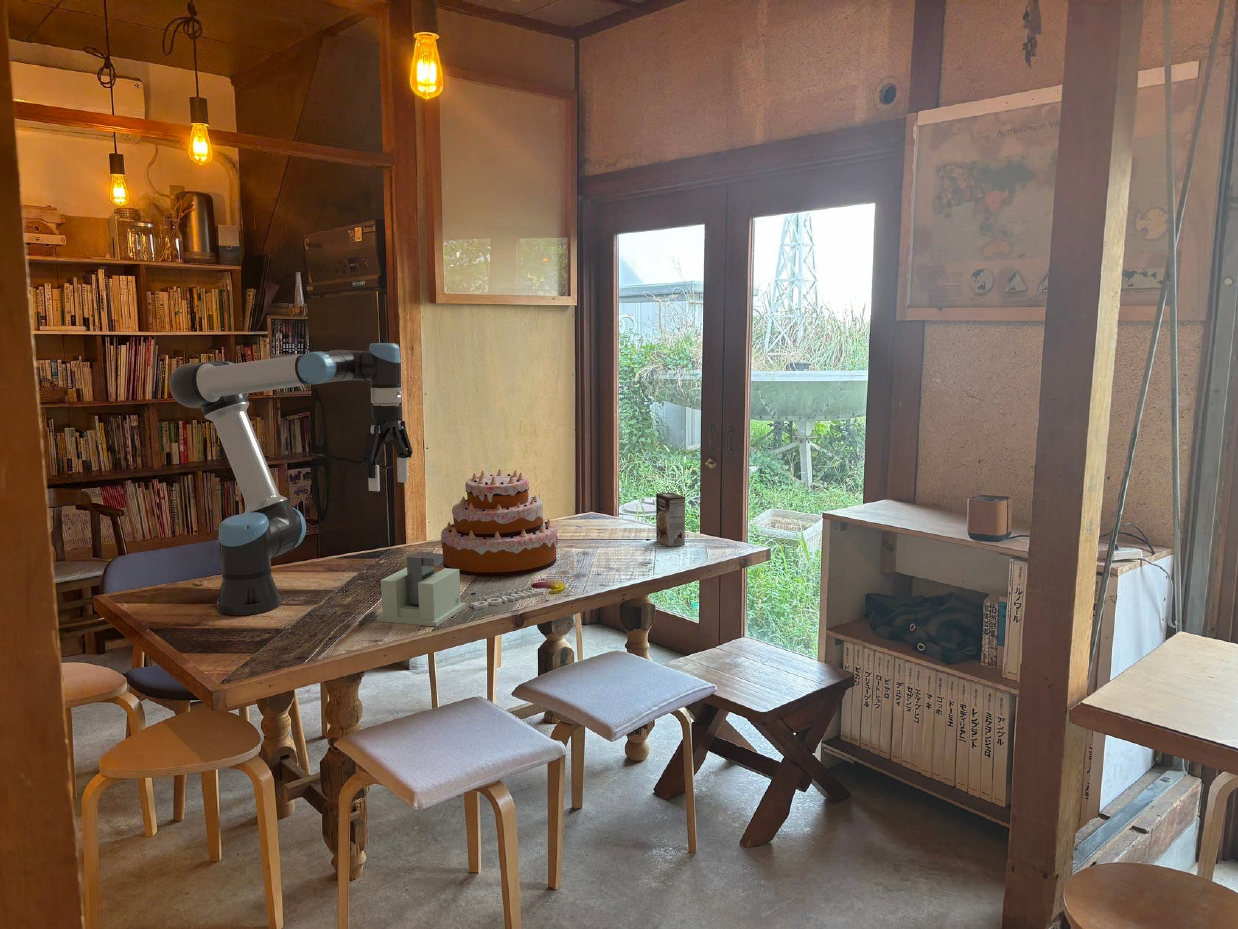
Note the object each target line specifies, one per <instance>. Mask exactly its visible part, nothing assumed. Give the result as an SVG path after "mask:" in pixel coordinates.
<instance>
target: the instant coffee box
mask: <svg viewBox="0 0 1238 929" xmlns="http://www.w3.org/2000/svg"><path fill="white" fill-rule="evenodd" d="M655 512H656V513H655V516H656V518H655V521H656V524H655V526H656V527H655V531H656V532H655V533H656V535H655V536H656V537H655V538H656V540H655V541H656V542H658V543H660V544H662V545H664V546H667V547H675V546H676V547H677V546H685V540H686V538H685V537H686V536H685V534H686V532H685V531H686V529H685V528H686V496H683V495H681V494H679V493H675V492H673V491H672V492H660V493H659V492H658V493H656V494H655Z"/></svg>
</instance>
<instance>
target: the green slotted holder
mask: <svg viewBox="0 0 1238 929" xmlns="http://www.w3.org/2000/svg"><path fill="white" fill-rule="evenodd" d="M460 575H461V574H459V569H448V568H445V567H444V568H443V569H441V570H439V571H437V572H434V575H432V576H430V577H428V578H426V579H424V580H423V581H421V582H419V583H418V595H419V607H411V606H409V602H408V579H407V566H406V567H403V568H402V569H400V570H398V571H396V572H394V573H392V574H390V575H388V576H386V577H384V578H382V579H381V580H380V593H381V611H382V612H381V614H380V615H378V616H376V622H384V623H394V624H396V623H397V624H407V625H418V626H430V627H438V626H440V625H441V624H442V623H444V622H445V621H447V620H448V619H450V618H451V617H453V616H454V615H456V614H457V613H459V612H460V611H462V610H464V609H465V608H466V607H467V603H466V602H461V580H460Z"/></svg>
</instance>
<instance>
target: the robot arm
mask: <svg viewBox="0 0 1238 929" xmlns="http://www.w3.org/2000/svg"><path fill="white" fill-rule="evenodd" d="M400 350H401V349H400V346H399V344H398V343H393V342H390V343H389V342H388V343H387V342H383V343H382V342H378V343H377V342H375V343H370V344H369V346H368V350H349V349H348V350H344V349H335V350H329V351H318V350H317V351H310V352H308V353H304V354H295V355H288V356H281V357H275V358H274V357H273V358H266V359H259V360H253V361H246V362H245V361H243V362H238V363H234V362H230V361H226V360H225V361H223V360H215V361H205V362H204V361H203V362H202V361H201V362H187V363H184V364H182V365H180V366H178V367H177V368H176V369H174V371H173V372H172V373H171V375H170V377H169V382H168V388H169V392H170V393H171V396H172V398H173V399H174V400H175V401H176V402H178V404H180V405H182V406H184V407H185V408H191V409H200V410H201V412H202V414H203V418H204V419H206V420H209V421H211V422H212V423H213V424H214V428H215V430H216V433H217V434H218V437H219V440H220V442H221V445H222V447H223V450H224V453H225V454H226V457H227V460H228V463H229V465H230V467H231V469H232V472H233V474H234V477H235V479H236V482H237V485H238V487H239V490H240V492H241V494H242V497H243V499H244V502H245V504H246V505H245V506H246V508H245V510H244V512H243V513H241V514H240V513H239V514H234V515H231V516H229V517H227V518H225V519H223V521H221V522H220V524H219V526H218V536H217V537H218V543H219V553H220V564H221V568H220V569H221V576H222V577H221V578H222V579H221V585H220V587H219V588H220V589H219V592H218V595H217V596H218V597H217V600H216V611H217V612H218V613H219V614H221V615H225V616H248V615H255V614H261V613H266V612H269V611H272V610H274V609H276V608H278V607H279V606H281V603H282V602H281V594H280V591H278V587H277V585H276V583H275V580H274V578H273V574H272V563H271V561H272V560H271V559H273V558H275V557H278V556H280V555H283V554H286V553H289V552H291V551H293V549H296V548H297V547H298V546H299V545H300V544H301V543H302V542H303V540H304V538H305V536H306V533H307V524H306V523H307V522H306V519H305V517H304V516H303V514H302V512H301V511H300V510H298V509H296V508H294V507H292V506H291V505H290V501H289V499H288V498H287V497H285V496H283V495H280V492H279V490H278V488H277V486H276V482H275V481H274V478H273V475H272V473H271V470H270V468H269V466H268V463H267V459H266V458H265V456H264V453H263V450H262V448H261V445H260V443H259V441H258V440H259V439H258V438H257V437H258V436H257V435H256V433H255V430H254V428H253V425H252V423H251V420H250V418H249V415H248V413H247V409H248V408H249V407H250V406H249V405H250V402H249V399H248V396H249V394H251V393H258V392H267V391H272V390H280V389H288V388H295V387H302V386H310V385H320V384H327V383H335V382H336V383H337V382H343V381H346V382H347V381H370V403H371V404H372V406H371V419H372V420H373V421H375V425H374V424H373V425H371V424H369V425H367V426H368V427H367V438H366V441H365V445H364V450H363V453H362V457H361V464H362V465H364V466H367V477H368V491H370V492H371V491H372V492H381V489H380V488H381V486H380V482H381V481H380V465H379V464H378V462H379V459H380V456H381V455H382V452H383V450H384V447H385V444H387V443H388V442H391V444H392V446H393V448H394V449H395V451H396V453H397V455H398V457H397V458H396V470H397V483H406V484H407V483H409V464H408V463H409V461H408V460H409V459H410V458H412V455H413V453H414V452H413V448H412V445H411V442H410V438H409V435H408V431H407V427H406V421H405V420H401V419H402V418H403V406H402V405H401V403H402V395H403V393H402V378H401V374H402V370H401V368H402V359H401V351H400ZM408 458H409V459H408Z"/></svg>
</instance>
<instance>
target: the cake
mask: <svg viewBox="0 0 1238 929" xmlns="http://www.w3.org/2000/svg"><path fill="white" fill-rule="evenodd" d="M529 482H530V481H529V478H528V477H525V476H523V473H522V472H520V473H518V472H517V469H515V470H514V472H513V474H510V473H508V474H503V472H502V471H501V468H499V469H498V471H497V474H488V475H487V474H486V473H485V472H484V471H483V469H482V470H481V473H480V476H477V475H476V473H473V474H472V477H470V478H468V479H467V480H466V481H465V492H466V496H467V497H466V498H467V499H466V498H465V496H464V495H463V496H462V498H461V500H460V501H459V502H457V503H455V504H454V505H453V506H452V509H451V513H452V514H451V515H452V520H453V523H452V524H451V522H450V521H448V522H447V525H446V527H444V528H442V531H441V533H440V542H441V544H440V546H441V547H440V548H441V550H442V554H443V562H442V565H443V567H444V568H448V569H459V575H463V576H470V577H481V578H482V577H484V578H495V577H497V578H499V577H502V576H503V577H513V575H515V576H523V575H528V573H529V574H532V572H533V573H537V572H540V571H543V569H544V570H546V569H549V568H551V567H553V565H555V563H556V562H557V546H558V542H559V541H558V540H559V539H558V532H557V531H558V530H557V527H556V525H555V524H554V523H552V522H551V520H550V519H549V518H548V519H547V520H546V519H545V518H544V516H543V512H544V510H543V508H544V506H543V505H544V504H543V503H544V502H543V500H542V499H540V498H538V497H537V495H536V494H535V495H534V496H533V495H530V493H529V491H530V483H529Z"/></svg>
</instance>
